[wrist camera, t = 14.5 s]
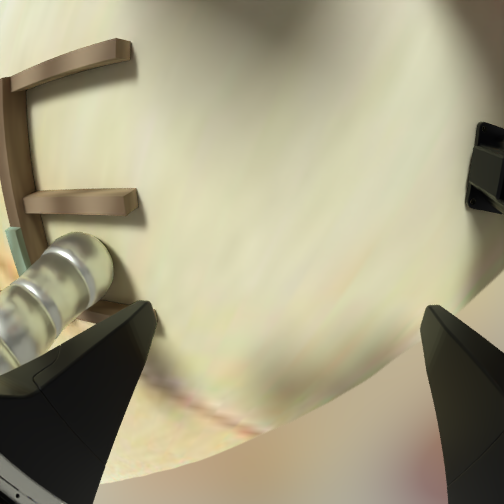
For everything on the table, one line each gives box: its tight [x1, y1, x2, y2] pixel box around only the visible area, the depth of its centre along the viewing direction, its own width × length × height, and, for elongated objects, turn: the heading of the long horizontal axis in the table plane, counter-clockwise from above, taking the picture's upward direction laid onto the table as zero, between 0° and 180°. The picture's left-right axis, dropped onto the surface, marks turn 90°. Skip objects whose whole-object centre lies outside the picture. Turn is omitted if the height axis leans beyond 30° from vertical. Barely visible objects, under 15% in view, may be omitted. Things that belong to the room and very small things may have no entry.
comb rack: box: [0, 38, 157, 324], centre depth 22 cm, size 14×24×4 cm, turn 179°
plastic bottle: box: [0, 232, 114, 375], centre depth 17 cm, size 6×7×20 cm
